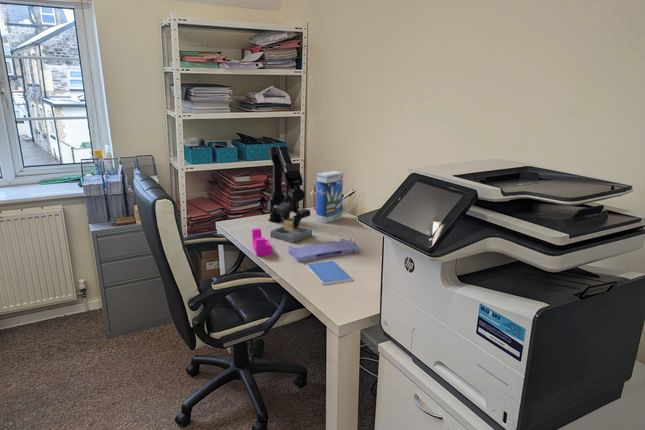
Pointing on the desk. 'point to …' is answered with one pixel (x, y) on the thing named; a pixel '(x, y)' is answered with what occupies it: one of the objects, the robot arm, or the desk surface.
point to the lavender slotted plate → (323, 250)
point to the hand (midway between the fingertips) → (291, 227)
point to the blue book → (329, 272)
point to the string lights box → (329, 196)
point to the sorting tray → (291, 234)
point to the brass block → (290, 225)
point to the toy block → (260, 243)
